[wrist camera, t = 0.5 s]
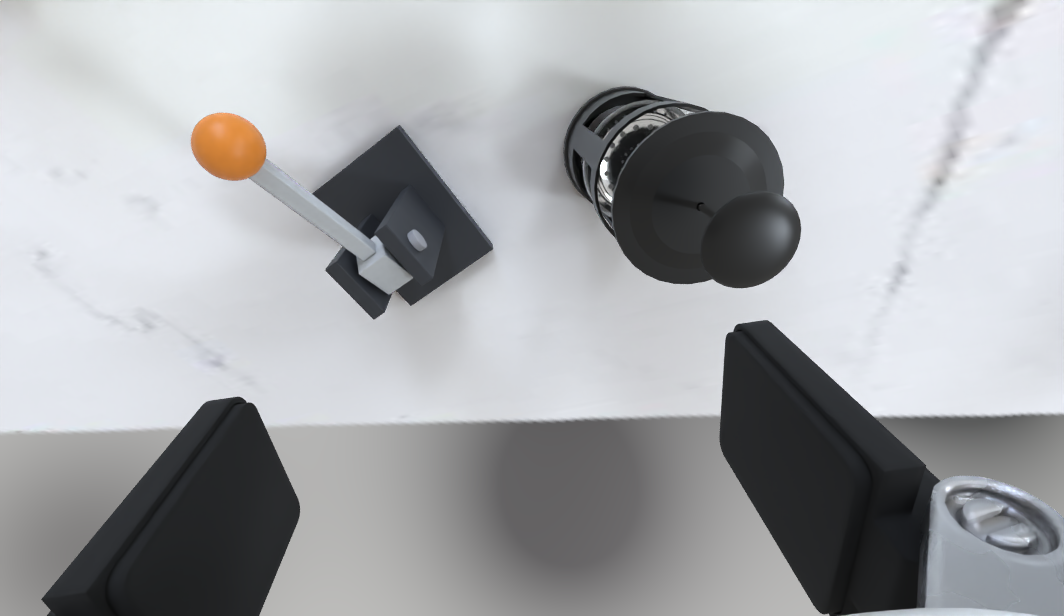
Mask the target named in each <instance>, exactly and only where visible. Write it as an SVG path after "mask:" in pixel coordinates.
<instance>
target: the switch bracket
mask: <svg viewBox="0 0 1064 616" xmlns="http://www.w3.org/2000/svg"><path fill="white" fill-rule="evenodd" d="M312 195H314V196H315V197H316V198H318V199H319V200H320V201H321V202H323V203H324V204H325V205H327V206H328V207H329V208H330V209H332V210H333V211H334V212H336V213H337V214H338V215H339V216H341V217H342V218H343V219H345V220H346V221H347V222H348V223H350V224H351V225H352V226H354V227H355V228H356V229H357V230H359V231H360V232H361V233H363V234H364V235H365V236H366V237H368V238H369V239H371V238H373V237H374V236H375V235H376V236H377V238H378V239H379V240H380V241H381V242H382V243H383V244H384V245H385V247H386V248H387V249H388V250H389V251H390V252H391V253H392V254H393V255H394V257H395V258H396V259H397V260H398V261H399V262H400V263H401V264H402V266H403V267H404V268H405V269H406V270H407V271H408V272H409V273H410V275H411V276H412V277H413V278H412V279H411V280H410V281H408V282H407V283H405V284H404V285H402V286H401V287H400V288H398V289H397V290H396V291H397V292H398V293H399V294H400V295H401V296H402V297H403V298H404V299H405V300H406V301H407V302H408V304H409V305H410V306H412V305H413V304H414V303H416V302H417V301H419V300H420V299H422V298H423V297H424V296H426V295H427V294H429V293H430V292H432V291H433V290H435V289H436V288H437V287H439V286H440V285H442V284H443V283H445V282H446V281H448V280H449V279H450V278H452V277H453V276H455V275H456V274H458V273H459V272H461V271H462V270H463V269H465V268H466V267H468V266H469V265H471V264H472V263H474V262H475V261H476V260H478V259H479V258H481V257H482V256H484V255H485V254H487V253H488V252H489V251H491V250H492V249H493V244H492V243H491V242H490V240H489V239H488V238H487V237H486V235H485V234H484V233H483V231H482V230H481V229H480V228H479V226H478V225H477V224H476V222H475V221H474V220H473V219H472V217H471V216H470V215H469V213H468V212H467V211H466V210H465V208H464V207H463V206H462V204H461V203H460V202H459V201H458V199H457V198H456V197H455V195H454V194H453V193H452V192H451V190H450V189H449V188H448V186H447V185H446V184H445V183H444V181H443V180H442V179H441V177H440V176H439V175H438V174H437V172H436V171H435V170H434V168H433V167H432V166H431V165H430V163H429V162H428V161H427V159H426V158H425V157H424V156H423V154H422V153H421V152H420V150H419V149H418V148H417V147H416V145H415V144H414V143H413V141H412V140H411V139H410V138H409V136H408V135H407V134H406V132H405V131H404V130H403V129H402V127H401V126H400V125H399V126H398V127H396V128H395V129H394V130H393V131H391V132H390V133H389V134H388V135H386V136H385V137H384V138H383V139H381V140H380V141H379V142H377V143H376V144H375V145H374V146H372V147H371V148H370V149H369V150H367V151H366V152H365V153H364V154H362V155H361V156H360V157H358V158H357V159H356V160H355V161H353V162H352V163H351V164H350V165H348V166H347V167H346V168H345V169H343V170H342V171H341V172H339V173H338V174H337V175H336V176H334V177H333V178H332V179H331V180H329V181H328V182H327V183H325V184H324V185H323V186H322V187H320V188H319V189H318V190H317V191H315V192H314V193H313V194H312ZM326 272H327V273H328V274H329V275H330V276H331V277H332V278H333V279H334V280H335V281H336V282H337V283H338V284H339V285H340V286H341V287H342V288H343V289H344V290H345V291H346V292H347V293H348V294H349V295H350V296H351V297H352V298H353V299H354V300H355V301H356V302H357V303H358V304H359V305H360V306H361V307H362V308H363V309H364V310H365V311H366V312H367V313H368V314H369V315H370V316H371V317H372V318H373V319H376V318H377V317H379V316H380V315H381V314H383V313H384V312H385V310H386V308H387V305H388V303H389V300H390V298H391V295H392V293H391V294H390V295H388V294H387V293H386V292H384V291H383V290H381V289H380V288H378V287H377V286H375V285H374V284H372V283H371V282H370V281H368V280H367V279H365V278H364V277H362V276H361V275H359V272H358V265H357V257H356V255H354V254H353V253H351V252H350V251H349V250H347V249H346V248H345V247H342V248H341V250H340V251H339V252H338V253H337V255H336V256H335V257H334V259H333V260H332V261H331V263H330V264H329V265H328V267H327V268H326Z"/></svg>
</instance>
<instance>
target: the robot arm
mask: <svg viewBox="0 0 1064 616" xmlns="http://www.w3.org/2000/svg"><path fill="white" fill-rule="evenodd" d="M720 445H721V449H722V452H723V455H724V457H725V458H726V460H727V462H728V463H729V465H730V467H731V468H732V470H733V472H734V473H735V475H736V477H737V478H738V480H739V482H740V483H741V485H742V487H743V488H744V490H745V492H746V493H747V495H748V497H749V498H750V500H751V502H752V503H753V505H754V507H755V508H756V510H757V512H758V513H759V515H760V517H761V518H762V520H763V522H764V523H765V525H766V527H767V528H768V530H769V531H770V533H771V535H772V537H773V538H774V540H775V542H776V543H777V545H778V546H779V548H780V550H781V552H782V553H783V555H784V557H785V558H786V560H787V562H788V563H789V565H790V567H791V568H792V570H793V572H794V573H795V575H796V577H797V578H798V580H799V581H800V583H801V585H802V587H803V588H804V590H805V592H806V593H807V595H808V597H809V598H810V600H811V602H812V603H813V605H814V606H815V607H816V609H817V610H818V611H819V612H820V613H822V614H829V615H830V616H1064V518H1063V517H1062V516H1061V515H1060V514H1059V513H1058V512H1057V511H1055V510H1054V509H1053V508H1051V507H1050V506H1049V505H1047V504H1046V503H1044V502H1043V501H1042V500H1040V499H1039V498H1037V497H1035V496H1033V495H1031V494H1029V493H1027V492H1025V491H1023V490H1021V489H1019V488H1017V487H1014V486H1011V485H1009V484H1006V483H1003V482H1000V481H997V480H993V479H988V478H983V477H978V476H954V477H950V478H946V479H943V480H942V481H940V480H939V479H937V478H936V477H935V476H934V475H933V474H932V473H931V472H930V471H929V470H928V469H927V468H926V465H925V464H924V463H923V462H922V461H921V460H920V459H919V458H918V457H916V456H915V455H914V454H913V453H912V452H911V451H910V450H909V449H908V448H907V447H906V446H905V445H903V444H902V443H901V442H900V441H899V440H898V439H897V438H896V437H895V436H894V435H893V434H891V433H890V432H889V431H888V430H887V429H886V428H885V427H884V426H883V425H882V424H881V423H879V422H878V421H877V420H876V419H875V418H874V417H873V416H872V415H871V414H870V413H869V412H868V411H867V410H865V409H864V408H863V407H862V406H861V405H860V404H859V403H858V402H857V401H856V400H855V399H853V398H852V397H851V396H850V395H849V394H848V393H847V392H846V391H845V390H844V389H843V388H842V387H840V386H839V385H838V384H837V383H836V382H835V381H834V380H833V379H832V378H831V377H830V376H829V375H827V374H826V373H825V372H824V371H823V370H822V369H821V368H820V367H819V366H818V365H817V364H815V363H814V362H813V361H812V360H811V359H810V358H809V357H808V356H807V355H806V354H805V353H804V352H802V351H801V350H800V349H799V348H798V347H797V346H796V345H795V344H794V343H793V342H792V341H790V340H789V339H788V338H787V337H786V336H785V335H784V334H783V333H782V332H781V331H780V330H779V329H777V328H776V327H775V326H774V325H773V324H772V323H771V322H769V321H768V320H763V321H756V322H750V323H743V324H738V325H736V326H735V328H734V332H731V333H728V334H727V336H726V340H725V356H724V373H723V389H722V406H721V422H720ZM299 515H300V505H299V501H298V498H297V496H296V494H295V492H294V489H293V487H292V485H291V483H290V481H289V478H288V477H287V474H286V472H285V470H284V467H283V465H282V463H281V461H280V459H279V457H278V454H277V452H276V450H275V448H274V446H273V443H272V441H271V439H270V437H269V435H268V432H267V430H266V428H265V426H264V424H263V421H262V419H261V417H260V415H259V413H258V410H257V408H256V407H255V405H254V404H252V403H247V402H246V401H245V400H244V399H243V398H241V397H233V398H226V399H219V400H212V401H208V402H206V403H205V404H203V405H202V406H201V408H200V409H199V410H198V411H197V412H196V414H195V415H194V416H193V417H192V418H191V420H190V421H189V422H188V423H187V424H186V426H185V427H184V428H183V429H182V430H181V432H180V433H179V434H178V435H177V437H176V438H175V439H174V440H173V441H172V443H171V444H170V445H169V446H168V447H167V449H166V450H165V451H164V452H163V453H162V455H161V456H160V457H159V458H158V460H157V461H156V462H155V463H154V464H153V465H152V467H151V468H150V469H149V470H148V472H147V473H146V474H145V475H144V476H143V478H142V479H141V480H140V481H139V483H138V484H137V485H136V486H135V487H134V488H133V490H132V491H131V492H130V493H129V494H128V496H127V497H126V498H125V499H124V500H123V502H122V503H121V504H120V505H119V506H118V508H117V509H116V510H115V511H114V512H113V514H112V515H111V516H110V517H109V518H108V520H107V521H106V522H105V523H104V524H103V526H102V527H101V528H100V529H99V531H98V532H97V533H96V534H95V535H94V537H93V538H92V539H91V540H90V542H89V543H88V544H87V545H86V546H85V547H84V549H83V550H82V551H81V552H80V554H79V555H78V556H77V557H76V558H75V560H74V561H73V562H72V563H71V565H69V567H68V568H67V569H66V570H65V572H64V573H63V574H62V575H61V576H60V578H59V579H58V580H57V581H56V582H55V584H54V585H53V586H52V587H51V589H50V590H49V591H48V592H47V593H46V595H45V596H44V597H43V598H42V600H43V602H44V603H45V604H46V605H47V606H48V608H49V609H50V610H51V611H50V612H49V614H48V615H47V616H259V614H260V612H261V609H262V607H263V605H264V602H265V600H266V597H267V595H268V593H269V590H270V588H271V585H272V583H273V581H274V578H275V576H276V573H277V571H278V568H279V566H280V563H281V561H282V559H283V556H284V554H285V551H286V549H287V546H288V544H289V542H290V539H291V537H292V534H293V532H294V529H295V527H296V525H297V522H298V519H299Z"/></svg>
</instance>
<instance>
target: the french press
mask: <svg viewBox="0 0 1064 616" xmlns="http://www.w3.org/2000/svg"><path fill="white" fill-rule="evenodd" d="M621 105H625V106H622V107H620V108H619V109H617V110H615V111H614V112H612V113H611V114H610V115H609V116H607V117H606V118H605V119H604V120H603V121H602V122H601V123H600V124H599V126H598V127H597V128H596V130H595V131H594V132H592V131H590V130H589V129H588V127H589V125H590V124H591V123H592V121H593V120H594V119H595V118H596V117H598V116H599V115H600V114H601V113H603V112H604V111H606V110H608V109H610V108H613V107H616V106H621ZM676 107H677V108H676ZM678 108H680V109H684V110H688V111H691V112H695V113H692V114H687V115H685V114H684V113H683V112H682V111H681V110H679V109H678ZM581 157H582V158H583V159H584V161H583V167H582V163H581ZM564 161H565V167H566V170H567V173H568V176H569V178H570V180H571V181H572V183H573V185H574V186H575V188H576V189H577V190H578V191H579V192H580V193H581V194H582V195H583V196H584V197H586V198H587V199H588V200H589V201H590V202H591V203H592V204H594V207H595V210H596V212H597V214H598V215H599V217H600V219H601V221H602V222H603V224H604V225H605V227H606V228H607V229H608V230H609V231H610V233H611V234H612V235H613V236H614V237H615V238H616V240H617V242H618V244H619V246H620V247H621V249H622V251H623V253H624V254H625V256H626V257H627V258H628V259H629V260H630V261H631V263H632V264H633V265H634V266H635V267H636V268H638V269H639V270H641V271H642V272H643V273H645V274H646V275H648V276H650V277H653V278H655V279H657V280H659V281H664V282H668V283H673V284H693V283H699V282H705V281H708V280H711V279H713V280H715V281H716V282H717V283H720V284H722V285H724V286H727V287H732V288H748V287H753V286H756V285H759V284H762V283H764V282H766V281H768V280H770V279H772V278H773V277H774V276H776V275H777V274H778V273H780V272H781V271H782V270H783V269H784V268H785V267H786V266H787V264H788V263H789V261H790V260H791V259H792V257H793V255H794V254H795V252H796V250H797V247H798V244H799V241H800V235H801V224H800V219H799V216H798V213H797V211H796V209H795V208H794V206H793V204H792V203H791V202H790V201H788V200H787V199H786V198H785V197H783V189H784V177H783V168H782V164H781V161H780V158H779V155H778V152H777V150H776V148H775V146H774V145H773V143H772V142H771V140H770V138H769V137H768V136H767V135H766V134H765V133H764V132H763V131H762V130H761V129H760V128H759V127H758V126H757V125H755V124H753V123H751V122H750V121H748V120H746V119H744V118H743V117H739V116H736V115H732V114H729V113H725V112H713V111H708V110H707V109H705V108H702V107H699V106H695V105H692V104H688V103H684V102H680V101H676V100H672V99H668V98H664V97H660V96H656V95H654V94H652V93H651V92H649V91H647V90H643V89H640V88H636V87H618V88H612V89H609V90H607V91H604V92H601V93H599V94H598V95H596V96H595V97H593V98H591V99H590V100H589V101H588V102H587V103H586V104H584V105H583V106H582V107H581V108H580V110H579V111H578V112H577V114H576V115H575V116H574V118H573V120H572V122H571V124H570V126H569V128H568V131H567V134H566V138H565V142H564ZM602 214H603V215H602ZM603 216H604V217H605V218H606V220H607V221H608V222H609V224H610V225H611V227H612V228H613V229H612V228H611V227H610V226H609V225H608V223H607V222H606V220H605V219H604V217H603Z"/></svg>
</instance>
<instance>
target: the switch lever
mask: <svg viewBox="0 0 1064 616" xmlns="http://www.w3.org/2000/svg"><path fill="white" fill-rule="evenodd" d="M191 147H192V151H193V154H194V156H195V158H196V160H197V161H198V163H199V164H200V165H201V166H202V167H203V168H204V169H205V170H206V171H208V172H209V173H211V174H212V175H214V176H216V177H219V178H221V179H225V180H232V181H238V180H244V179H247V178H249V179H251V180H252V181H253V182H255V183H256V184H258V185H259V186H260V187H262V188H263V189H264V190H266V191H267V192H269V193H270V194H271V195H273V196H274V197H276V198H277V199H278V200H280V201H281V202H282V203H284V204H285V205H287V206H288V207H289V208H291V209H292V210H293V211H295V212H296V213H298V214H299V215H300V216H302V217H303V218H305V219H306V220H307V221H309V222H310V223H311V224H313V225H314V226H316V227H317V228H318V229H320V230H321V231H322V232H324V233H325V234H327V235H328V236H329V237H331V238H332V239H334V240H335V241H336V242H338V243H339V244H340V245H342V246H343V247H345V248H346V249H347V250H349V251H350V252H351V253H353V254H354V255H356V257H357V265H358V272H359V275H361V276H362V277H364V278H365V279H367V280H368V281H370V282H371V283H372V284H374V285H375V286H377V287H378V288H380V289H381V290H383V291H384V292H386V293H387V294H388V295H390V294H391V293H393V292H394V291H395V290H397V289H398V288H400V287H401V286H402V285H404V284H405V283H407V282H408V281H410V280H411V279H412V278H413V277H412V276H411V275H410V273H409V272H408V271H407V270H406V269H405V268H404V267H403V266H402V264H401V263H400V262H399V261H398V260H397V259H396V258H395V257H394V255H393V254H392V253H391V252H390V251H389V250H388V249H387V248H386V247H385V245H384V244H383V243H382V242H381V241H380V240H379V239H378V238H377V236H376V235H375V236H374V237H373V238H371V239H369V238H368V237H366V236H365V235H364V234H363V233H361V232H360V231H359V230H357V229H356V228H355V227H354V226H352V225H351V224H350V223H348V222H347V221H346V220H345V219H343V218H342V217H341V216H339V215H338V214H337V213H336V212H334V211H333V210H332V209H330V208H329V207H328V206H327V205H325V204H324V203H323V202H321V201H320V200H319V199H318V198H316V197H315V196H314V195H312V194H311V193H310V192H309V191H307V190H306V189H305V188H304V187H302V186H301V185H300V184H298V183H297V182H296V181H295V180H293V179H292V178H291V177H289V176H288V175H287V174H286V173H284V172H283V171H282V170H280V169H279V168H278V167H277V166H275V165H274V164H273V163H271V162H270V161H269V160H268V159H266V145H265V142H264V139H263V137H262V135H261V133H260V132H259V131H258V129H257V128H256V127H255V126H254V125H253V124H252V123H250V122H249V121H248V120H246V119H244V118H242V117H240V116H238V115H235V114H231V113H215V114H211V115H208V116H206V117H205V118H203V119H202V120H200V121H199V122H198V123H197V125H196V126H195V128H194V130H193V132H192V136H191Z"/></svg>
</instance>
